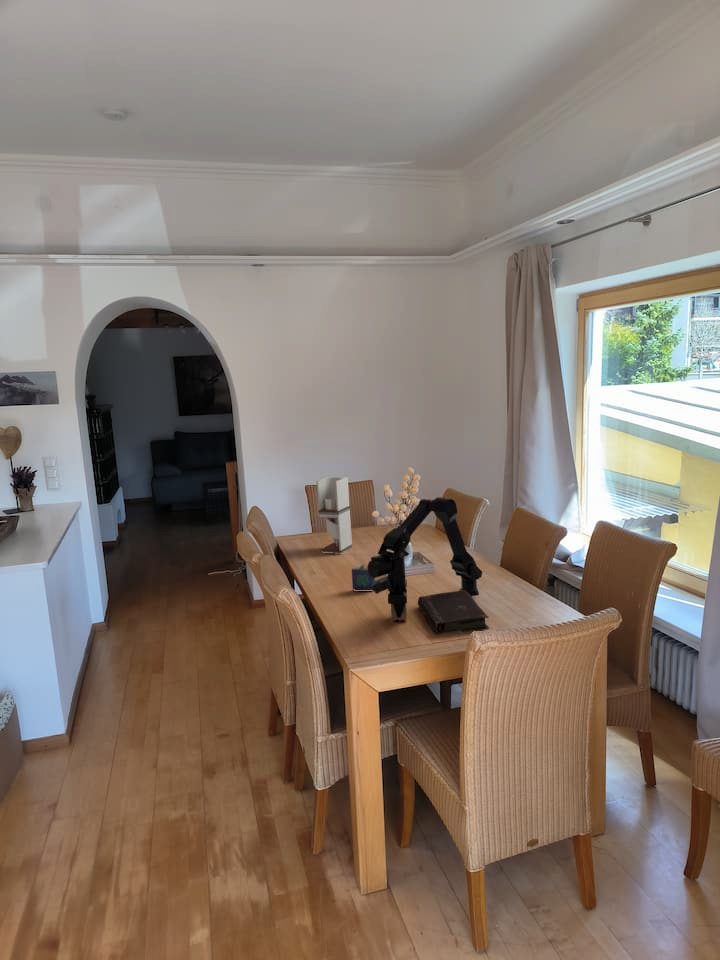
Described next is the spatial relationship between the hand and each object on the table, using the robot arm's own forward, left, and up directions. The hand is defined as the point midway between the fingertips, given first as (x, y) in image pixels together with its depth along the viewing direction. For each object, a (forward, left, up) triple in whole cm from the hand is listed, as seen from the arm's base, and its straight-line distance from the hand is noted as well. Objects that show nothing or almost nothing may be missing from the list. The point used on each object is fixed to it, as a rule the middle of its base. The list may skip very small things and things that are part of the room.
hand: (399, 614), depth 216 cm
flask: (-30, -14, -2) cm, 33 cm away
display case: (-88, -31, -2) cm, 93 cm away
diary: (0, +18, -2) cm, 18 cm away
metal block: (0, 0, -1) cm, 1 cm away
